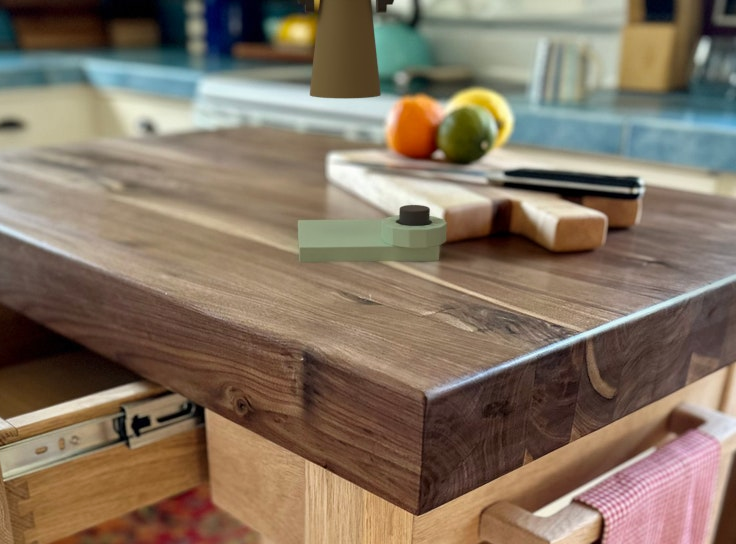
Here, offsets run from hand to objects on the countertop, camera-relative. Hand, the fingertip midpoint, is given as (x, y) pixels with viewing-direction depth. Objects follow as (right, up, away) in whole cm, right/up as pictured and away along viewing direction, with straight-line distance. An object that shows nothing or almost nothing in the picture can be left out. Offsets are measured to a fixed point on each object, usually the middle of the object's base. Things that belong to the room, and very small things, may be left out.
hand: (345, 11), depth 71 cm
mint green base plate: (+2, -18, +8) cm, 20 cm away
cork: (0, -6, +3) cm, 7 cm away
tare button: (+6, -17, +5) cm, 18 cm away
